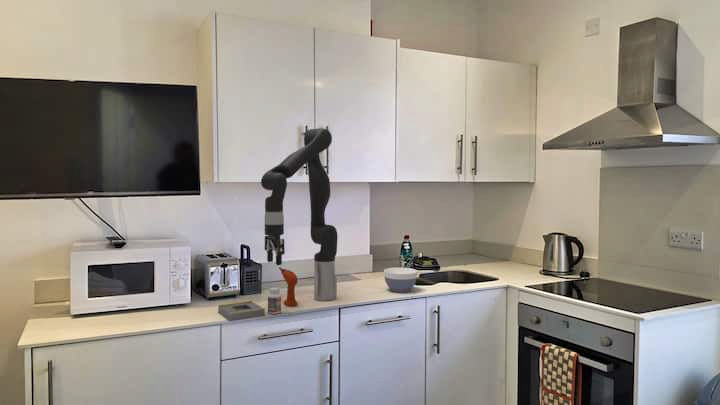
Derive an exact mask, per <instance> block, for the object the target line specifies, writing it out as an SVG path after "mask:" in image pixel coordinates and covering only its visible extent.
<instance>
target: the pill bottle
mask: <svg viewBox="0 0 720 405" xmlns="http://www.w3.org/2000/svg"><path fill="white" fill-rule="evenodd" d="M281 312H282V294H281V293H280V287H275V286H274V287H270V288H269V293H268V294H267V313H268V314H271V315H278V314H281Z"/></svg>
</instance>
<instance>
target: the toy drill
mask: <svg viewBox="0 0 720 405" xmlns="http://www.w3.org/2000/svg"><path fill="white" fill-rule="evenodd" d="M278 269H279V270H280V273H281V274H282V278H283V279H284V280H285V283H286V284H287V289H286V299H285V300H283V305H284V306H286V307H291V308H294V307H297V306H298V301H297V300H296V296H295V291H296V290H295V287H296V285H297V284H298V282H299V281H298V276H297V274H296V273H294V271H292V270H289V269H286V268H284V269H283V268H282V267H278Z"/></svg>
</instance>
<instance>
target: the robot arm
mask: <svg viewBox="0 0 720 405" xmlns="http://www.w3.org/2000/svg"><path fill="white" fill-rule="evenodd" d="M332 141H333V136H332V134H331V132H330V131H329V129H326V128H321V127H320V128H310V129H307V130H306V132H305V133H304V135H303V144H304V146H303V147H300V149H298V150H296V151H294V152H293V153H291V154H289V155H288V156H287V157H285V159H283V160H282V161H281V162H280V163H279V164H277V165H276V166H274V167H273V168H270V169H269V170H267V171H266V172H265V173H264V174H263V175H262V177H261V179H260V185H261V187H262V188H263V189H264V190H266V191H271V194H270V196H268V197H266V198H265V200H264V201H265V202H264V251H266V255H267V256H266V258H267V259H266V261H267V263H271V262H273V261H274V254H275V265H276V266H282V264H283V261H282V256H283V255H285V252H286V251H285V238H281V236H282V235H284V234H285V231H284V230H285V223H284V220H285V218H284V217H285V216H284V199H285V195H286V191H287V186H288V180H287V179H290V178H292V177H293V176H294V175H295V174H296V173H297V172H298V171H299V170H300V169H301V168H302V167H303V166H304V165H306V164H307V174H308V175H307V176H308V190H309V191H308V192H309V200H310V204H309V205H310V237H311V240H312V242H313V243H314V244H316V245H319V246H320V248H319V249H320V250H319V251H318V252H316V253H314V257H313V261H314V262H313V265H314V266H313V275H314V276H313V282H314V283H313V286H314V288H313V290H314V291H313V299H314V300H316V301H321V302H322V301H326V302H328V301H333V300H335V299H337V293H338V292H337V290H338V289H337V288H338V278H337V277H336V276H335V275H336V255H337V252H338V237H339V236H338V230H337V228H336V227H335V226H334V225H331V224H326V221H325V220H326V218H325V212H326V208H327V206H328V203H329V200H330V197H331V181H330V177H329V175H328V173H327V171H326V170H325V168H324V166H323V164H322V162H321V157H320V154H321V153H322V152H324V151H325V150H326V149H327V150H328V148H329V147H330V146H331V144H332Z"/></svg>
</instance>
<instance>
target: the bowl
mask: <svg viewBox="0 0 720 405" xmlns="http://www.w3.org/2000/svg"><path fill="white" fill-rule="evenodd" d="M383 273H384V274H383V275H384V280H385V283H386V286H387V287H388V288H389V289H390V291H392V292H395V293H408V292H410V291H411V289H412V288H414V286H415V284H416V282H417V278H418V270H417V269H415V268H409V267H389V268H388V267H387V268H385V269H384V270H383Z"/></svg>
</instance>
